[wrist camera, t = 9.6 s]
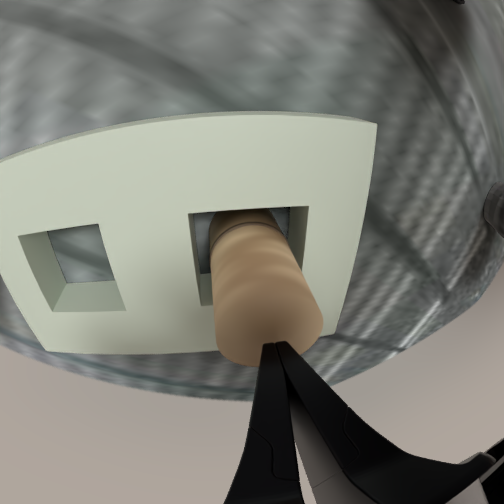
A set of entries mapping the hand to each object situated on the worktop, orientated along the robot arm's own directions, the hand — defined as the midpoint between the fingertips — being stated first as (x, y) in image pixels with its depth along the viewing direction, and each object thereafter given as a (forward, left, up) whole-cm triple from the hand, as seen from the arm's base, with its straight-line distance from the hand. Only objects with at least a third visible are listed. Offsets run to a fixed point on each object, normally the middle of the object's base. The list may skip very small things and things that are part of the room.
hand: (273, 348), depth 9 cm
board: (+5, 0, -8) cm, 10 cm away
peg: (0, 0, -9) cm, 9 cm away
